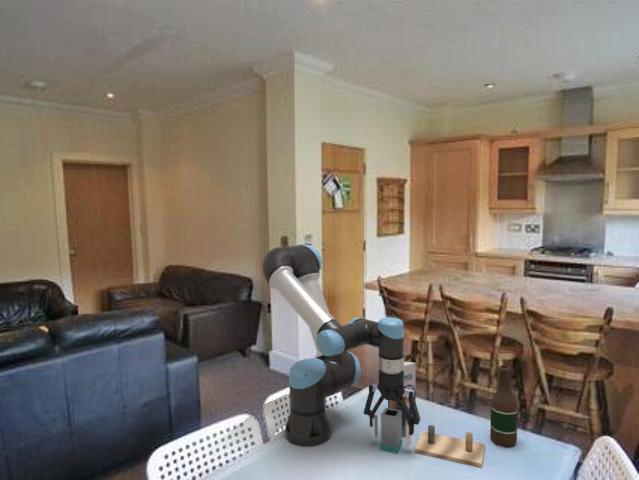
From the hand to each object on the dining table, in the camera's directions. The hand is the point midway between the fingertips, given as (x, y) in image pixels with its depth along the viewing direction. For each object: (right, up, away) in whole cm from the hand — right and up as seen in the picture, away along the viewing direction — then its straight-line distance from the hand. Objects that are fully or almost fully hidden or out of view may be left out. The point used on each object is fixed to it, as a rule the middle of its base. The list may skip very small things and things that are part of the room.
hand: (391, 440), depth 133 cm
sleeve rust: (+4, -1, +9) cm, 10 cm away
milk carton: (+7, -1, +19) cm, 20 cm away
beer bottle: (+35, -2, +2) cm, 35 cm away
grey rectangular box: (0, -2, 0) cm, 2 cm away
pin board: (+17, -2, -2) cm, 18 cm away
